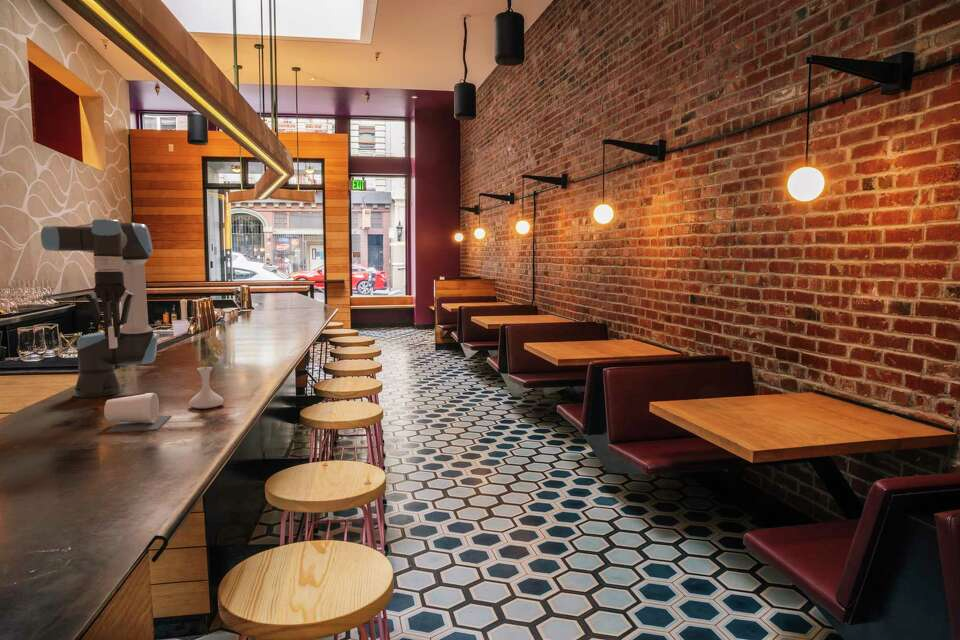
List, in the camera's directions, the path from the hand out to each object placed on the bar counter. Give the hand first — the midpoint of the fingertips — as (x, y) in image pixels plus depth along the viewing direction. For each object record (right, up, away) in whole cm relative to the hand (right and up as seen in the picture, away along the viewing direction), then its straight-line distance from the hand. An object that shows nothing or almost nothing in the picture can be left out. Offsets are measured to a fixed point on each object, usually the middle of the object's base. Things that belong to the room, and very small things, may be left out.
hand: (113, 347), depth 187 cm
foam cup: (-2, -19, +1) cm, 19 cm away
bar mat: (+6, -24, +3) cm, 25 cm away
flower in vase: (+18, -22, +26) cm, 39 cm away
